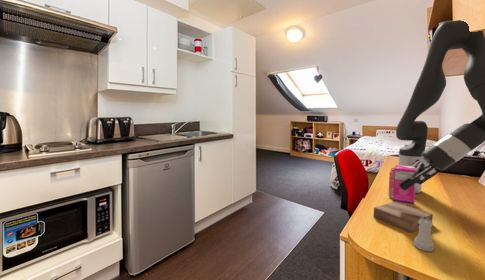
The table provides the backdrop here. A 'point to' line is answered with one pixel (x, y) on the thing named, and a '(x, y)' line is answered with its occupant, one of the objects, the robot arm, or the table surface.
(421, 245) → the rook chess piece
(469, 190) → the table surface
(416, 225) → the walnut block
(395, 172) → the supplement box
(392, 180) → the soda can
